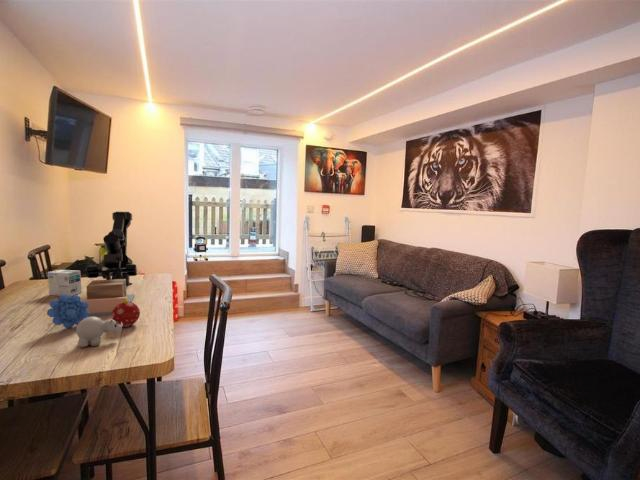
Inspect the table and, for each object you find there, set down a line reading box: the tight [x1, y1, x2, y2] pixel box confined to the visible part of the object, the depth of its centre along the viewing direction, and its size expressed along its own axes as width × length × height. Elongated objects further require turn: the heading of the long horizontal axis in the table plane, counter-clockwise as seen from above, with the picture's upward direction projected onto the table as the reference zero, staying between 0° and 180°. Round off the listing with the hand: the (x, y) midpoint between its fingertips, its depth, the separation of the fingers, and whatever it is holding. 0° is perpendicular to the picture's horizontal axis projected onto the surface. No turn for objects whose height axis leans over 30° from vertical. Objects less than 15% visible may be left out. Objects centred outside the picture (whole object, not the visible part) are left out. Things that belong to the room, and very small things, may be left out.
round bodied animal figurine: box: [75, 315, 123, 348], centre depth 102 cm, size 7×12×8 cm, turn 120°
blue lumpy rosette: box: [46, 294, 90, 329], centre depth 112 cm, size 12×7×12 cm, turn 137°
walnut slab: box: [85, 278, 127, 300], centre depth 135 cm, size 10×12×7 cm
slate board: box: [89, 294, 135, 317], centre depth 138 cm, size 25×16×1 cm, turn 23°
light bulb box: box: [47, 269, 83, 297], centre depth 152 cm, size 11×7×11 cm, turn 84°
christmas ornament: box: [111, 298, 141, 328], centre depth 116 cm, size 9×9×10 cm
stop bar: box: [80, 297, 127, 313], centre depth 127 cm, size 2×16×5 cm, turn 113°
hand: (110, 287), depth 141 cm, fingers closed
